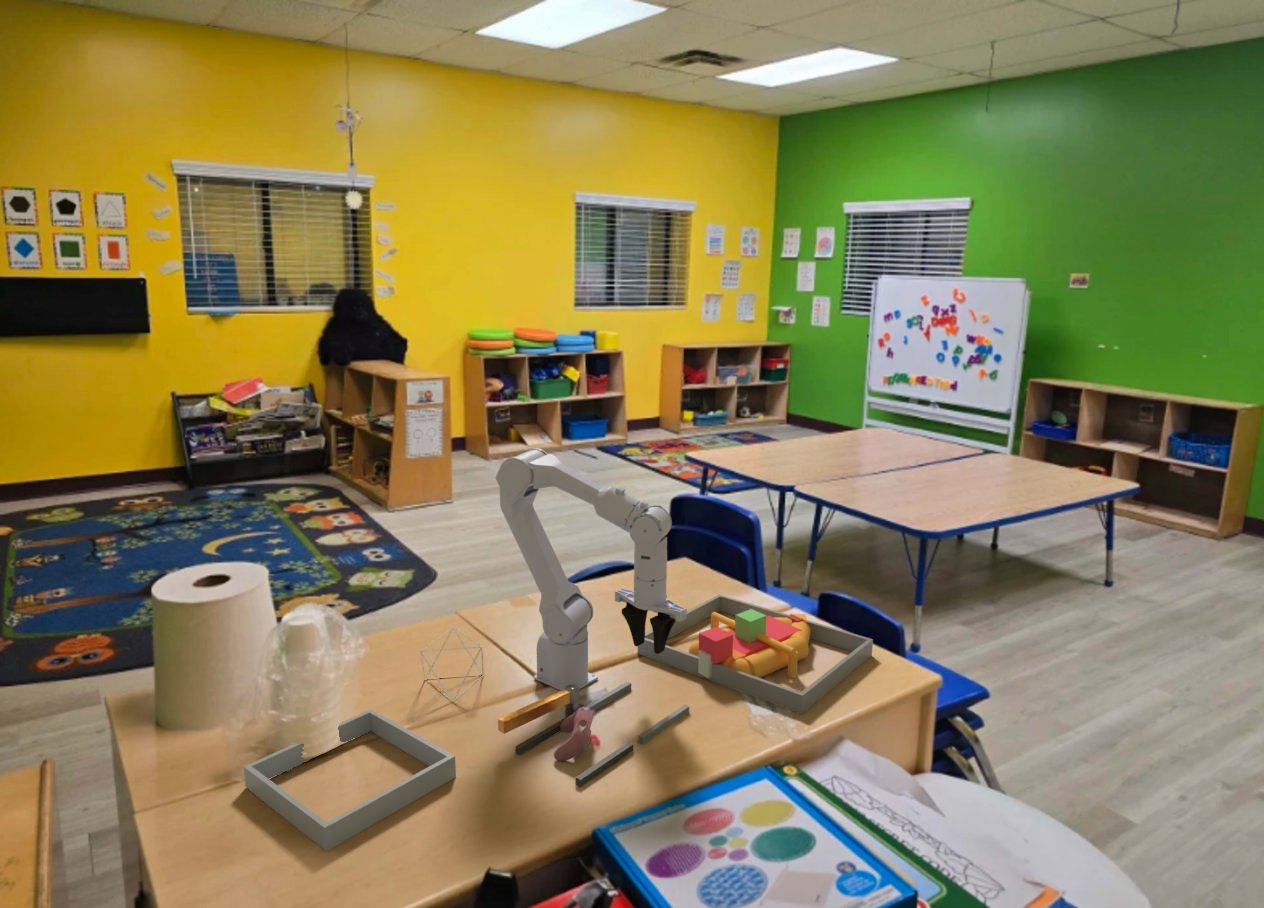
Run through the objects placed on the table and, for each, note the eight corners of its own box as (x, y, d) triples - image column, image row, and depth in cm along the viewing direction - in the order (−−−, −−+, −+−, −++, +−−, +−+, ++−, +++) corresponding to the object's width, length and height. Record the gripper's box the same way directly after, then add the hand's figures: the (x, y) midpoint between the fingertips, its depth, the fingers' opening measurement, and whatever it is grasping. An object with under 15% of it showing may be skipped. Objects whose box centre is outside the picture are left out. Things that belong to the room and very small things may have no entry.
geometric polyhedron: (483, 700, 150) (482, 653, 148) (420, 704, 148) (418, 657, 146) (483, 669, 162) (482, 624, 160) (425, 672, 160) (423, 627, 158)
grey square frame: (245, 787, 124) (243, 766, 123) (372, 727, 140) (371, 708, 140) (326, 851, 111) (324, 827, 110) (455, 776, 127) (455, 755, 126)
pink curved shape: (577, 772, 131) (597, 737, 130) (551, 760, 131) (570, 724, 129) (582, 738, 141) (601, 704, 139) (558, 726, 140) (577, 692, 139)
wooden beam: (572, 709, 146) (572, 682, 145) (582, 714, 144) (582, 687, 143) (497, 746, 134) (496, 717, 133) (506, 752, 133) (505, 722, 132)
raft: (846, 653, 169) (849, 611, 167) (742, 702, 151) (743, 656, 148) (762, 616, 186) (764, 578, 184) (659, 656, 168) (659, 614, 166)
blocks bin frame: (637, 653, 169) (637, 637, 168) (718, 608, 191) (719, 594, 190) (801, 713, 146) (802, 695, 145) (871, 655, 169) (873, 639, 168)
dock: (515, 752, 133) (515, 746, 133) (627, 687, 155) (627, 681, 154) (580, 786, 125) (580, 779, 125) (689, 712, 146) (689, 706, 146)
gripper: (697, 579, 145) (695, 651, 148) (632, 560, 154) (631, 629, 157) (673, 590, 140) (671, 665, 143) (607, 571, 149) (607, 642, 152)
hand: (649, 647), depth 150 cm, fingers open, 4 cm apart
